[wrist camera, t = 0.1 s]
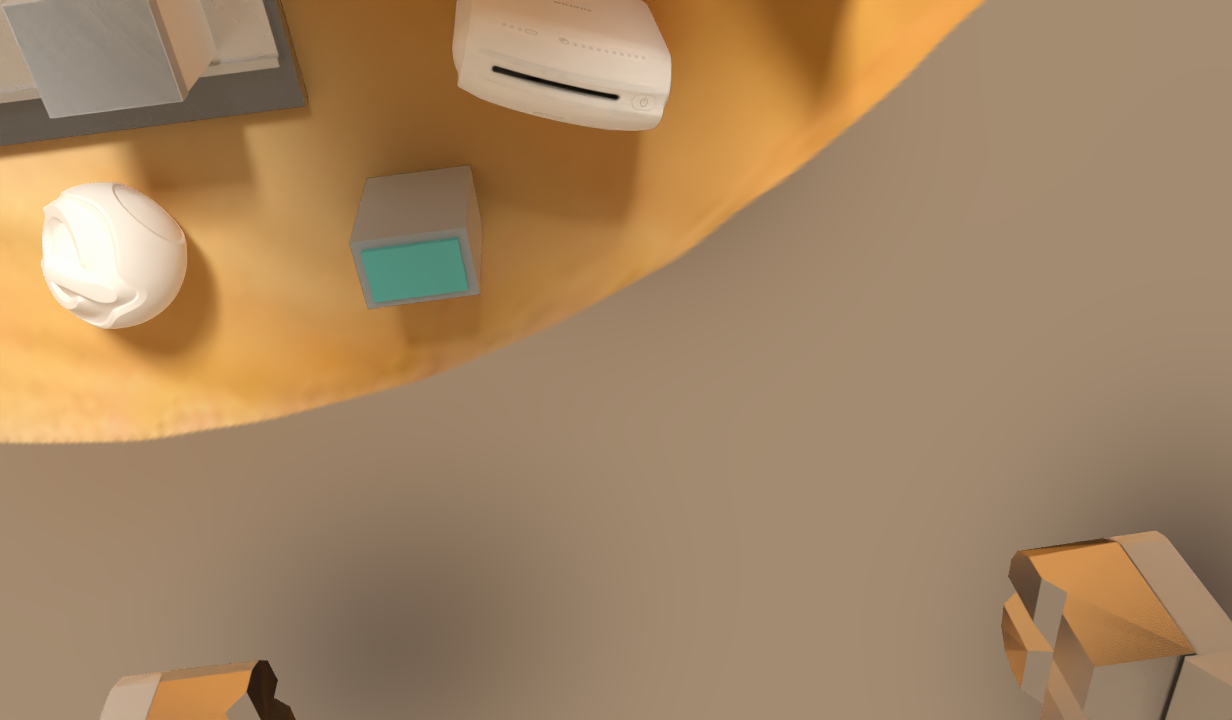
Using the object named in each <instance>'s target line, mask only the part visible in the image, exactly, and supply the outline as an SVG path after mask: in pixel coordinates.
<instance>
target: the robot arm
mask: <svg viewBox="0 0 1232 720" xmlns="http://www.w3.org/2000/svg"><path fill="white" fill-rule="evenodd" d="M1008 577H1009V579H1010V580H1011V582H1012V584H1013V586H1014V588H1015V590H1016V593H1015V594H1014V595H1013V596H1012V597H1011V598H1010V599H1009V600H1008V601H1007V602H1006V603H1005V604H1004V606H1003V615H1002V624H1001V628H1002V635H1003V641H1004V648H1005V653H1006V655H1007V659H1008V661H1009V664H1010V667H1011V670H1012V672H1013V674H1014V676H1015V678H1016V680H1017V682H1018V685H1019V686H1020V689H1021V690H1022V691H1024V692H1025V693H1027V694H1029V695H1030V696H1031V697H1033V698H1034V699H1036V700H1037V701H1039V702H1040V703H1042V704H1043V706H1042V711H1041V716H1040V720H1232V622H1231V620H1230V619H1229V618H1228V616H1227V615H1226V614H1225V613H1224V611H1223V610H1222V609H1221V607H1220V606H1219V605H1218V603H1217V602H1216V601H1215V600H1214V598H1213V597H1212V596H1211V594H1210V593H1209V592H1208V591H1207V589H1206V588H1205V587H1204V585H1203V584H1202V583H1201V582H1200V580H1199V579H1198V578H1197V577H1196V575H1195V574H1194V572H1193V571H1192V570H1191V569H1190V567H1189V566H1188V565H1187V563H1186V562H1185V561H1184V560H1183V558H1182V557H1181V556H1180V554H1179V553H1178V552H1177V551H1176V549H1175V548H1174V547H1173V546H1172V544H1171V543H1170V542H1169V540H1168V539H1167V538H1166V537H1165V536H1164V535H1162V534H1160V533H1159V532H1157V531H1151V532H1144V533H1137V534H1130V535H1123V536H1117V537H1110V538H1108V539H1105V538H1099V539H1093V540H1086V541H1080V542H1073V543H1067V544H1060V545H1054V546H1047V547H1041V548H1034V549H1028V550H1021V551H1017V552H1016V553H1015V555H1014V556H1013V558H1012V559H1011V564H1010V569H1009V575H1008ZM277 682H278V679H277V677H276V675H275V673H274V672H273V670H272V668H271V666H270V664H269V662H268V661H267V660H256V661H247V662H239V663H229V664H221V665H212V666H204V667H195V668H187V669H178V670H169V671H165V672H157V673H149V674H142V675H133V676H125V677H122V678H121V679H120V680H119V681H118V683H116V685H115V686H114V687H113V688H112V689H111V690H110V692H109V695H108V697H107V700H106V703H105V705H104V707H103V710H102V713H101V715H100V718H99V720H296V719H295V717H294V714H293V712H292V710H291V707H290V706H289V705H287V704H285V703H283V702H281V701H280V700H278V699H276V698H274V695H275V691H276V687H277Z"/></svg>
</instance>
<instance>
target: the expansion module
mask: <svg viewBox="0 0 1232 720" xmlns="http://www.w3.org/2000/svg"><path fill="white" fill-rule="evenodd" d="M482 228H483V226H482V221H481V216H480V211H479V206H478V201H477V196H476V191H475V186H474V181H473V176H472V171H471V165H465V166H458V167H450V168H442V169H435V170H427V171H420V172H412V173H404V174H397V175H389V176H382V177H374V178H367V180H366V183H365V187H364V191H363V194H362V198H361V202H360V205H359V209H358V212H357V216H356V220H355V223H354V227H353V231H352V234H351V238H350V242H349V244H350V248H351V251H352V255H353V258H354V262H355V265H356V269H357V272H358V276H359V279H360V283H361V286H362V290H363V294H364V297H365V301H366V304H367V308H368V309H373V308H380V307H388V306H395V305H403V304H410V303H418V302H425V301H433V300H440V299H448V298H455V297H463V296H470V295H478V294H480V275H481V252H482Z"/></svg>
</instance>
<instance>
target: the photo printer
mask: <svg viewBox="0 0 1232 720" xmlns="http://www.w3.org/2000/svg"><path fill="white" fill-rule="evenodd" d="M452 53H453V60H454V64H455V67H456V69H457V71H458V81H457V85H458V87H460V88H461V89H463V90H465V91H467V92H469V93H471V94H473V95H475V96H476V97H478V98H480V99H482V100H485V101H488V102H490V103H494V104H497V105H499V106H503V107H506V108H509V109H512V110H516V111H520V112H523V113H527V114H531V115H535V116H539V117H543V118H547V119H551V120H556V121H560V122H565V123H570V124H575V125H580V126H586V127H592V128H599V129H606V130H622V131H640V130H650V129H653V128H655V127H656V126H657V125H658V124H659V122H660V120H661V118H662V114H663V109H664V108H665V106H666V104H667V101H668V98H669V94H670V89H671V83H672V80H671V69H672V62H671V55H670V52H669V50H668V48H667V46H666V44H665V41H664V39H663V37H662V35H661V33H660V30H659V28H658V26H657V24H656V22H655V20H654V17H653V15H652V13H651V11H650V9H649V7H648V5H647V4H646V3H645V2H644V1H642V0H457V3H456V14H455V25H454V36H453V46H452Z"/></svg>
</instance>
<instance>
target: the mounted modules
mask: <svg viewBox="0 0 1232 720" xmlns="http://www.w3.org/2000/svg"><path fill="white" fill-rule="evenodd" d="M1 7H2V9H3V12H4V14H5V16H6V18H7V21H8V23H9V25H10V28H11V30H12V32H13V34H14V37H15V39H16V41H17V44H18V46H19V48H20V51H21V53H22V55H23V57H24V60H25V62H26V64H27V67H28V69H29V71H30V73H31V76H32V78H33V80H34V83H35V85H36V87H37V89H38V92H39V94H40V96H41V99H42V101H43V103H44V106H45V108H46V110H47V112H48V115H49V117H50V119H51V118H59V117H67V116H74V115H82V114H90V113H97V112H105V111H113V110H120V109H128V108H136V107H143V106H151V105H159V104H167V103H174V102H182V101H184V100H185V98H186V97H187V96H188V94H189V93H188V92H189V90H190V89H191V88H192V86H193V85H194V84H195V82H196V81H197V80H198V78H199V77H200V76H201V74H202V73H203V72H204V70H205V69H206V68H207V66H208V65H209V64H210V62H211V61H212V60H213V58H214V57H215V56H216V54H217V50H216V47H215V44H214V41H213V38H212V35H211V31H210V28H209V25H208V22H207V19H206V16H205V13H204V10H203V7H202V4H201V1H200V0H8V1H7V2H5V3H4V4H2V5H1Z"/></svg>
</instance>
